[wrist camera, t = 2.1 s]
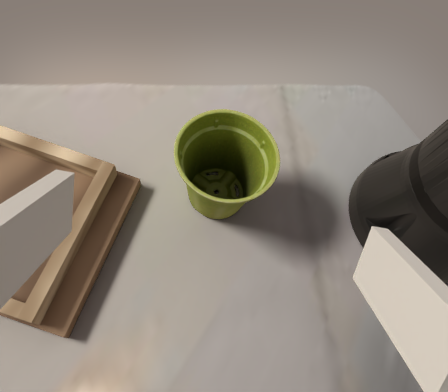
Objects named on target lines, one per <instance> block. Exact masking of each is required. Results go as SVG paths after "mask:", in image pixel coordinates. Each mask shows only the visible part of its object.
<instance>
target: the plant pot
mask: <svg viewBox="0 0 448 392" xmlns="http://www.w3.org/2000/svg"><path fill="white" fill-rule="evenodd" d="M174 159H175V164H176V167H177V170H178V172H179V174H180V176H181V177H182V179H183V180H184V182H185V183H186V185H187V190H188V195H189V199H190V202H191V204H192V206H193V207H194V208H195V209H196V210H197V211H198V212H200V213H201V214H202V215H204V216H206V217H208V218H212V219H223V218H227V217H230V216H232V215H233V214H235V213H236V212H237V211H238V210H239V209H240V208H241V207H242V206H243V205H244V204H245V203H246V202H248V201H251V200H253V199H255V198H257V197H259V196H261V195H262V194H264V193H265V192H266V191H267V190H268V189H269V188H270V187H271V186H272V184H273V183H274V181H275V180H276V178H277V175H278V172H279V168H280V154H279V150H278V147H277V144H276V142H275V140H274V138H273V136H272V135H271V133H270V132H269V131H268V130H267V129H266V128H265V127H264V126H263V125H262V124H261V123H260V122H258V121H257V120H256V119H254V118H253V117H251V116H249V115H247V114H244V113H241V112H238V111H233V110H227V109H219V110H211V111H207V112H204V113H201V114H199V115H197V116H195V117H193V118H192V119H191V120H189V121H188V122H187V123H186V124H185V125H184V126H183V127H182V129H181V130H180V132H179V133H178V135H177V138H176V141H175V145H174ZM211 172H217V173H218V175H208V176H207V173H211ZM235 185H236V186H237V187H238V189H239V196H236V190H235V187H234V186H235ZM215 190H218V191H219V193H218V194H215V193H214V191H215Z"/></svg>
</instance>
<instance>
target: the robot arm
mask: <svg viewBox="0 0 448 392" xmlns="http://www.w3.org/2000/svg"><path fill="white" fill-rule="evenodd" d="M74 174H75V173H73V172H67V171H62V170H54V171H53V172H51V173H49V174H48V175H46V176H45V177H43V178H41V179H40V180H38V181H37V182H35V183H33V184H32V185H30V186H29V187H27V188H25V189H24V190H22V191H20V192H19V193H17V194H16V195H14V196H12V197H11V198H9V199H8V200H6V201H4V202H3V203H1V204H0V309H1V308H2V307H3V306H4V305H5V304H6V303H7V302H8V300H9V299H10V298H11V297H12V296H13V295H14V294H15V293H16V292H17V291H18V289H19V288H20V287H21V286H22V285H23V284H24V283H25V282H26V281H27V280H28V279H29V277H30V276H31V275H32V274H33V273H34V272H35V271H36V270H37V269H38V268H39V266H40V265H41V264H42V263H43V262H44V261H45V260H46V259H47V258H48V257H49V255H50V254H51V253H52V252H53V251H54V250H55V249H56V248H57V247H58V246H59V244H60V243H61V242H62V241H63V240H64V239H65V238H66V237H67V236H68V235H69V233H70V232H71V231H72V213H73V194H74ZM349 214H350V220H351V224H352V227H353V230H354V232H355V234H356V236H357V238H358V240H359V242H360V244H361V245H362V247H363V248H364V249H363V251H362V254H361V257H360V259H359V262H358V265H357V267H356V270H355V273H354V275H353V280H354V281H355V283H356V284H357V286H358V288H359V289H360V291H361V292H362V294H363V296H364V297H365V299H366V300H367V302H368V304H369V305H370V307H371V308H372V310H373V312H374V313H375V315H376V316H377V318H378V320H379V321H380V323H381V324H382V326H383V328H384V329H385V331H386V332H387V334H388V336H389V337H390V339H391V340H392V342H393V344H394V345H395V347H396V348H397V350H398V351H399V353H400V355H401V356H402V358H403V359H404V361H405V363H406V364H407V366H408V367H409V369H410V371H411V372H412V374H413V375H414V377H415V379H416V380H417V382H418V383H419V385H420V387H421V388H422V390H423V391H424V392H448V286H447V285H446V284H445V283H446V282H448V120H446V121H445V122H444V123H443V124H442V125H441V126H439V127H438V128H437V129H436V130H435V131H434V132H432V133H431V134H430V135H429V136H428V137H427V138H426V139H424V140H423V141H422V142H421V143H419V144H417V145H414V146H411V147H409V148H407V149H405V150H403V151H399V152H394V153H391V154H388V155H385V156H383V157H381V158H379V159H377V160H376V161H374V162H373V163H372V164H371V165H370V166H368V167H367V168H366V169H365V170H364V171H363V172H362V173H361V174H360V175H359V177H358V178H357V179H356V181H355V183H354V184H353V187H352V189H351V193H350V197H349Z"/></svg>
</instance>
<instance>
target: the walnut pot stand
mask: <svg viewBox="0 0 448 392" xmlns="http://www.w3.org/2000/svg"><path fill="white" fill-rule="evenodd" d="M54 170H62V171H67V172H73V173H75V174H74V194H73V213H72V231H71V232H70V233H69V235H68V236H67V237H66V238H65V239H64V240H63V241H62V242H61V243H60V244H59V246H58V247H57V248H56V249H55V250H54V251H53V252H52V253H51V254H50V255H49V257H48V258H47V259H46V260H45V261H44V262H43V263H42V264H41V265H40V266H39V268H38V269H37V270H36V271H35V272H34V273H33V274H32V275H31V276H30V277H29V279H28V280H27V281H26V282H25V283H24V284H23V285H22V286H21V287H20V288H19V289H18V291H17V292H16V293H15V294H14V295H13V296H12V297H11V298H10V299H9V300H8V302H7V303H6V304H5V305H4V306H3V307H2V308H1V309H0V315H1V316H4V317H7V318H10V319H13V320H16V321H18V322H21V323H24V324H27V325H30V326H33V327H36V328H38V329H41V330H44V331H47V332H50V333H53V334H56V335H58V336H61V337H65V338H69V336H70V334H71V332H72V330H73V328H74V325H75V323H76V321H77V319H78V317H79V315H80V313H81V311H82V309H83V306H84V304H85V302H86V300H87V298H88V296H89V294H90V292H91V290H92V287H93V285H94V283H95V281H96V279H97V277H98V275H99V273H100V271H101V268H102V266H103V264H104V262H105V260H106V258H107V256H108V254H109V252H110V249H111V247H112V245H113V243H114V241H115V239H116V237H117V235H118V233H119V230H120V228H121V226H122V224H123V222H124V220H125V218H126V216H127V214H128V211H129V209H130V207H131V205H132V203H133V201H134V199H135V197H136V195H137V192H138V190H139V188H140V186H141V183H140V179H138V178H135V177H133V176H130V175H127V174H124V173H121V172H118V171H116V168H115V165H114V164H111V163H108V162H105V161H102V160H99V159H96V158H93V157H91V156H88V155H85V154H82V153H79V152H76V151H73V150H70V149H67V148H64V147H61V146H59V145H56V144H53V143H50V142H47V141H44V140H41V139H38V138H35V137H32V136H29V135H27V134H24V133H21V132H18V131H15V130H12V129H9V128H6V127H3V126H0V204H1V203H3V202H4V201H6V200H8V199H9V198H11V197H12V196H14V195H16V194H17V193H19V192H20V191H22V190H24V189H25V188H27V187H29V186H30V185H32V184H33V183H35V182H37V181H38V180H40V179H41V178H43V177H45V176H46V175H48V174H49V173H51V172H53V171H54Z"/></svg>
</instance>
